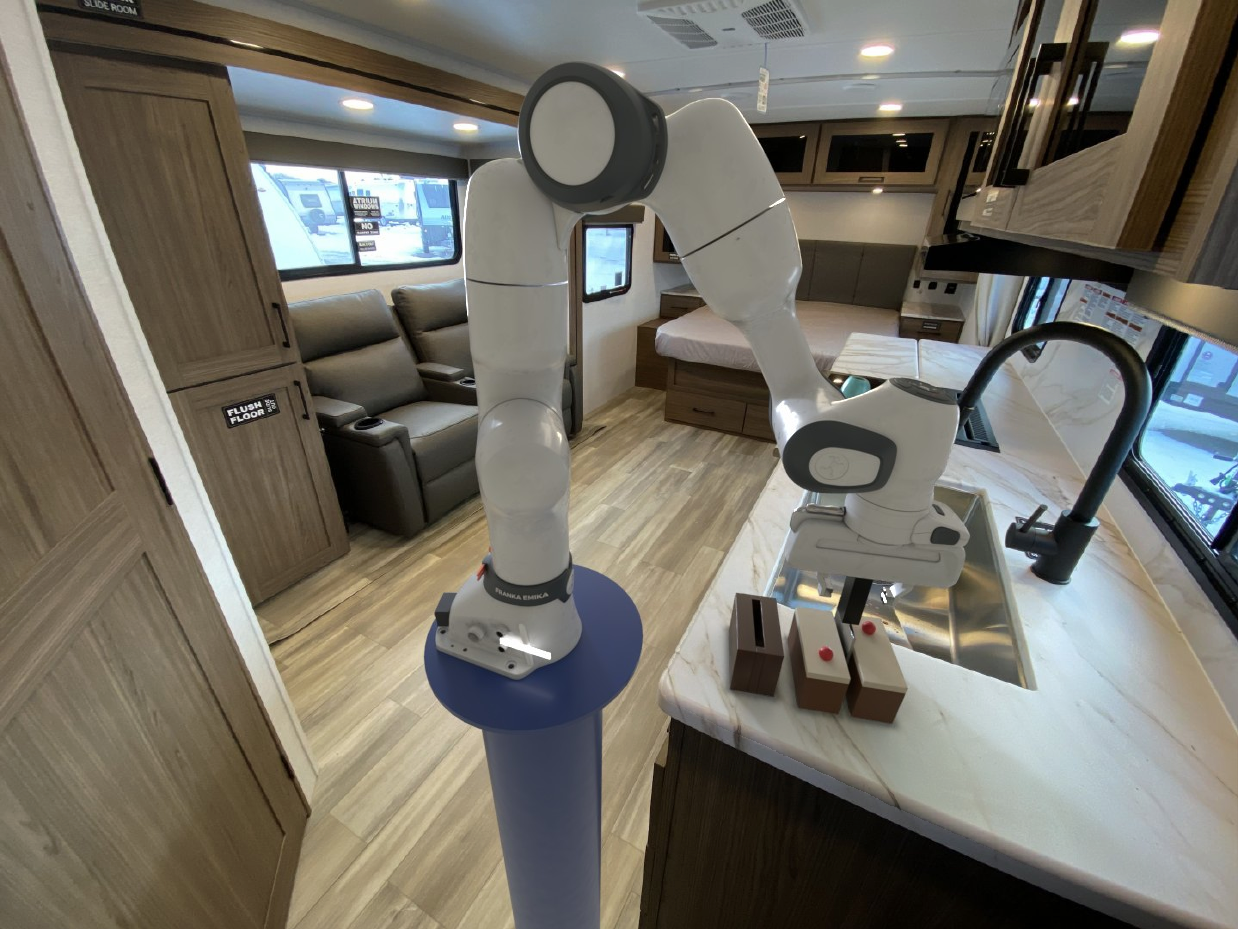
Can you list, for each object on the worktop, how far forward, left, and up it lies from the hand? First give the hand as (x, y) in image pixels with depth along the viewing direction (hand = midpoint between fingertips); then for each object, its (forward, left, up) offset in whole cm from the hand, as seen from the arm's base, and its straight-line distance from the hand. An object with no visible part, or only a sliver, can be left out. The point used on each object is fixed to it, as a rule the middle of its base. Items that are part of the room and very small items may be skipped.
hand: (855, 598), depth 66 cm
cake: (0, -2, -13) cm, 14 cm away
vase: (+20, +90, -14) cm, 93 cm away
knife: (0, 0, -13) cm, 13 cm away
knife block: (-12, -1, -13) cm, 18 cm away
